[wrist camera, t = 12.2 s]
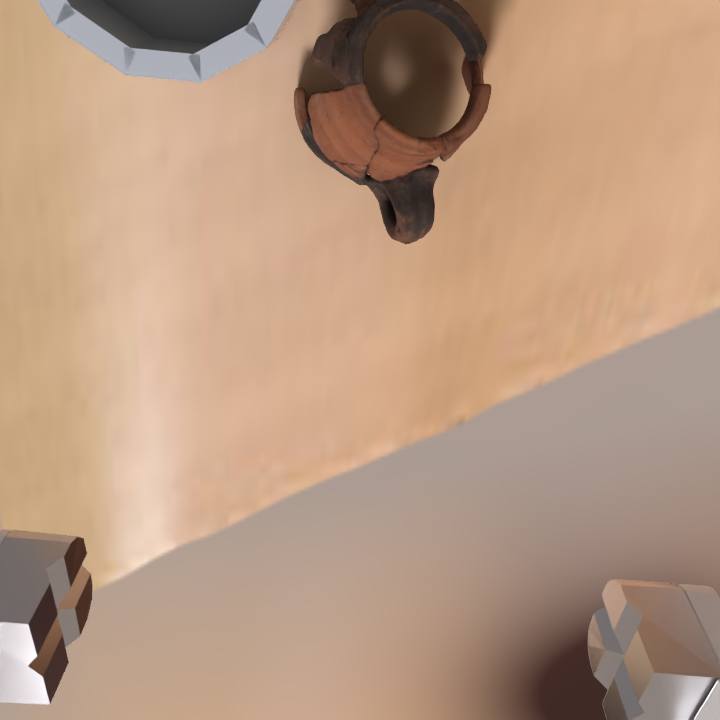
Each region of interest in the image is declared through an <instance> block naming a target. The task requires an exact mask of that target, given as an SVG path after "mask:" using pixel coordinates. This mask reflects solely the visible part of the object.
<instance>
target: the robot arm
mask: <svg viewBox="0 0 720 720" xmlns="http://www.w3.org/2000/svg"><path fill="white" fill-rule="evenodd" d="M86 555H87V551H86V547H85V543H84V538H81V537H76V536H66V535H57V534H48V533H38V532H29V531H20V530H7V529H0V702H7V703H27V704H49V705H50V704H51V701H52V699H53V697H54V695H55V692H56V690H57V688H58V685H59V683H60V681H61V679H62V677H63V674H64V672H65V670H66V667H67V665H68V663H69V662H68V657H67V653H66V648H65V647H66V646H68V645H69V644H70V643H72V642H73V641H74V640H75V639H77V638H78V637H79V636H80V635H81V633H82V630H83V628H84V626H85V623H86V621H87V619H88V614H89V610H90V606H91V601H92V579H91V573H89V572H88V571H87V570H86V569H85V568H84V567H83V566H82V563H83V561H84V559H85V557H86ZM602 597H603V600H604V603H605V607H603V608H602V609H600V610H599V611H597V612H596V613H594V615H593V618H592V621H591V623H590V626H589V632H588V633H589V634H588V651H589V659H590V663H591V667H592V670H593V674H594V676H595V677H596V678H597V679H598V680H599V681H600V682H601V683H602V684H603V685H604V686H605V688H607V690H608V692H607V694H606V696H605V698H604V701H603V703H602V705H603V708H604V711H605V715H606V718H607V720H720V598H719V596H718V594H717V593H716V592H715V591H714V590H713V589H712V588H711V587H709V586H699V585H686V584H673V583H664V582H650V581H635V580H620V579H612V580H611V581H609V582H608V583H607V584H606V587H605V588H604V591H603V593H602Z"/></svg>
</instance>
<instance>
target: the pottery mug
mask: <svg viewBox="0 0 720 720" xmlns="http://www.w3.org/2000/svg"><path fill="white" fill-rule="evenodd" d="M351 2H352V3H353V4H355V8H356V10H357V14H358V17H356V18H349V19H344V20H343V21H340V22H338V23H336V24H335V25H334V26H333V27H332V28H331V29H330V31H329V32H327V33H325V34H323V35H321V36H319V37H318V39H317V40H316V43H315V46H314V49H313V52H312V60H313V62H315V63H323V64H324V66H325V67H326V68H327V69H328V70H329V71H330V72H331V73H333V74H334V76H335V77H336V78H337V79H338V81H339V82H340V83H341V84H342V86H343V88H341V89H335V90H331V91H327V92H321V93H319V92H317V93H313V94H312V95H311V98H310V100H309V102H308V106H307V108H308V112H309V116H310V119H308V115H307V110H306V98H305V90H304V89H303V88H296V89H295V92H294V108H295V115H296V119H297V123H298V126H299V129H300V131H301V134H302V135H303V138H304V140H305V142H306V143H307V145H308V146H309V148H310V149H311V150H312V151H313V153H314V154H315V155H316V156H317V157H318V158H320V159H321V160H322V161H323V162H324V163H326V164H327V165H329V166H331V167H333V168H334V169H336V170H337V171H338V172H340V173H341V174H343V175H344V176H346V177H348V178H350V179H351V180H353V181H354V182H356V183H357V184H359V185H367V186H368V187H369V188H370V189H371V191H372V192H373V193H374V194H375V196H376V198H377V200H378V202H379V206H380V210H381V214H382V218H383V222H384V224H385V227H386V230H387V232H388V234H389V235H390V237H391V238H392V239H394V240H396V241H399V242H402V243H404V244H410V243H412V242H415V241H417V240H418V239H420V238H423V237H424V236H425V235H426V234H427V233H428V232H429V231H430V229H431V228H432V225H433V222H434V210H435V203H434V197H433V187H434V183H435V181H436V179H437V177H438V174H439V169H438V167H436V166H434V165H430V164H431V163H432V162H433V160H434V159H436V158H437V157H438V156H439V157H440V159H441V160H443V161H446V160H447V159H449V158H450V157H451V156H452V155H453V154H454V153H455V152H456V150H457V149H458V148H459V147H460V145H461V144H462V143H463V142H464V141H465V140H466V139H467V138H468V137H470V136H471V134H472V133H473V132H474V131H475V130H476V129H477V127H478V126H479V124H480V122H481V121H482V119H483V117H484V114H485V113H486V111H487V108H488V104H489V99H490V94H491V85H490V84H484V81H483V70H482V65H481V62H480V59H481V58H482V57H483V55H484V53H485V51H486V47H487V45H486V41H485V39H484V37H483V35H482V33H481V31H480V29H479V28H478V26H477V25H476V24H475V23H474V21H473V20H472V18H471V17H470V15H469V14H468V13H467V12H466V11H465V10H464V9H463V8H462V7H461V6H460V5H459V4H458V3H457V2H455V1H453V0H351ZM406 9H413V10H420V11H423V12H426V13H428V14H430V15H432V16H434V17H435V18H437V19H439V20H440V21H442V22H443V23H444V24H445V25H446V26H448V27H449V28H450V30H451V31H452V32H453V33H454V34H455V35H456V37H457V38H458V40H459V41H460V43H461V45H462V47H463V49H464V51H465V53H466V56H467V57H466V59H465V61H464V64H463V66H462V75H463V78H464V82H465V85H466V87H467V90H468V92H469V94H470V97H469V102H468V105H467V108H466V110H465V112H464V114H463V116H462V118H461V119H460V121H459V122H458V123H457V124H456V125H455V126H454V127H453V128H452V129H450V130H449V131H448V132H446V133H443V134H441V135H439V136H438V137H433V138H421V137H415V136H412V135H409V134H406V133H404V132H402V131H400V130H399V129H397V128H395V127H394V126H393V125H391V124H390V123H389V122H388V121H387V120H386V119H385V118H384V117H383V116H382V115H381V113H380V112H379V110H378V109H377V108H376V106H375V104H374V102H373V101H372V99H371V96H370V94H369V91H368V88H367V85H366V83H365V81H364V68H363V62H364V52H365V48H366V44H367V41H368V39H369V36H370V34H371V32H372V30H373V29H374V28H375V26H376V25H377V23H378V22H379V21H380V20H381V19H382V18H384V17H385V16H387V15H388V14H391V13H393V12H395V11H399V10H406ZM367 173H368V174H369V175H368V174H367Z"/></svg>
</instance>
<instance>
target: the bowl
mask: <svg viewBox="0 0 720 720" xmlns="http://www.w3.org/2000/svg"><path fill="white" fill-rule="evenodd" d="M38 2H39V3H40V5H41V6H42V8H43V10H44V11H45V13H46V14H47V16H48V18H49V19H50V21H51V22H52V24H53V26H55V28H57V29H58V30H60V31H61V32H63V33H64V34H66V35H67V36H69V37H70V38H72V39H73V40H75V41H76V42H78V43H79V44H81V45H82V46H83V47H85V48H86V49H88V50H89V51H91V52H92V53H94V54H95V55H97V56H98V57H100V58H101V59H103V60H104V61H106V62H107V63H109V64H110V65H112V66H113V67H115V68H116V69H117V70H119V71H120V72H122V73H123V74H125V75H130V76H140V77H150V78H160V79H171V80H181V81H191V82H203V81H205V80H207V79H209V78H211V77H213V76H215V75H217V74H218V73H220V72H222V71H224V70H226V69H228V68H230V67H232V66H234V65H236V64H237V63H239V62H241V61H243V60H245V59H247V58H249V57H251V56H253V55H255V54H256V53H258V52H260V51H262V50H264V49H266V48H267V47H269V46H270V45H271V44H272V43H273V42H274V41H275V40H277V39H278V38H279V36H280V35H281V33H282V31H283V29H284V28H285V26H286V24H287V22H288V21H289V19H290V17H291V16H292V14H293V12H294V10H295V9H296V7H297V5H298V3H299V2H300V0H38Z"/></svg>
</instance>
